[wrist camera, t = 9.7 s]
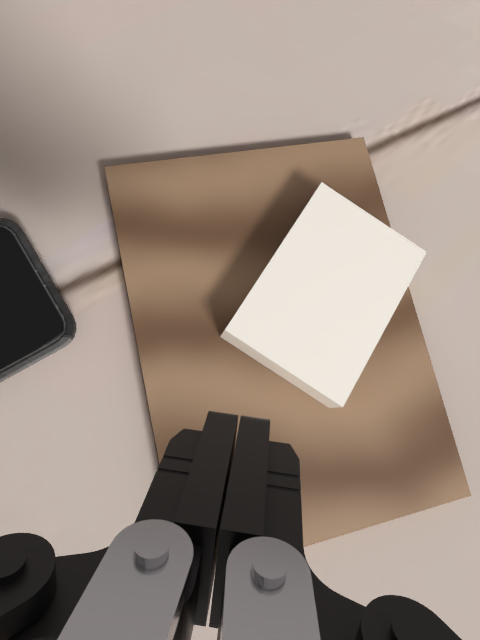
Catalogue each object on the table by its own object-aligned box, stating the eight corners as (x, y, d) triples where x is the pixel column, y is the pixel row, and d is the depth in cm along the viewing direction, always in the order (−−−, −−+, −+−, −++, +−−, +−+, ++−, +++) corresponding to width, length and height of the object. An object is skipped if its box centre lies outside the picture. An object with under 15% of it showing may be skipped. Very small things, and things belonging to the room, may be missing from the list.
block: (343, 407, 22) (426, 252, 24) (224, 329, 22) (321, 182, 24) (328, 407, 24) (407, 264, 26) (219, 337, 24) (310, 199, 26)
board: (106, 175, 26) (104, 166, 25) (357, 146, 29) (363, 137, 28) (180, 577, 22) (181, 584, 21) (459, 492, 25) (471, 495, 24)
